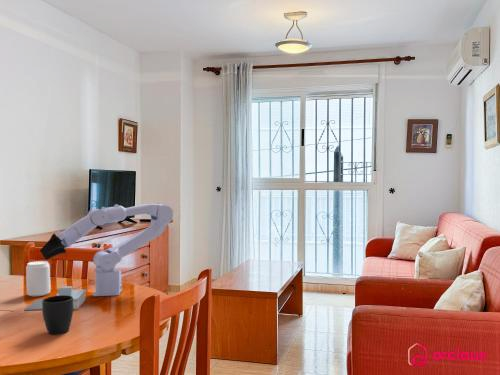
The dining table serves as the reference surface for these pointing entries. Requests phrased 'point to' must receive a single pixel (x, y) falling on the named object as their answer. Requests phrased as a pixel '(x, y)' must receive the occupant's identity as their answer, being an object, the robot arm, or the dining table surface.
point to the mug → (57, 313)
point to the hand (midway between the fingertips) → (42, 255)
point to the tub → (78, 302)
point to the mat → (35, 305)
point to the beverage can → (38, 278)
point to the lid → (71, 292)
